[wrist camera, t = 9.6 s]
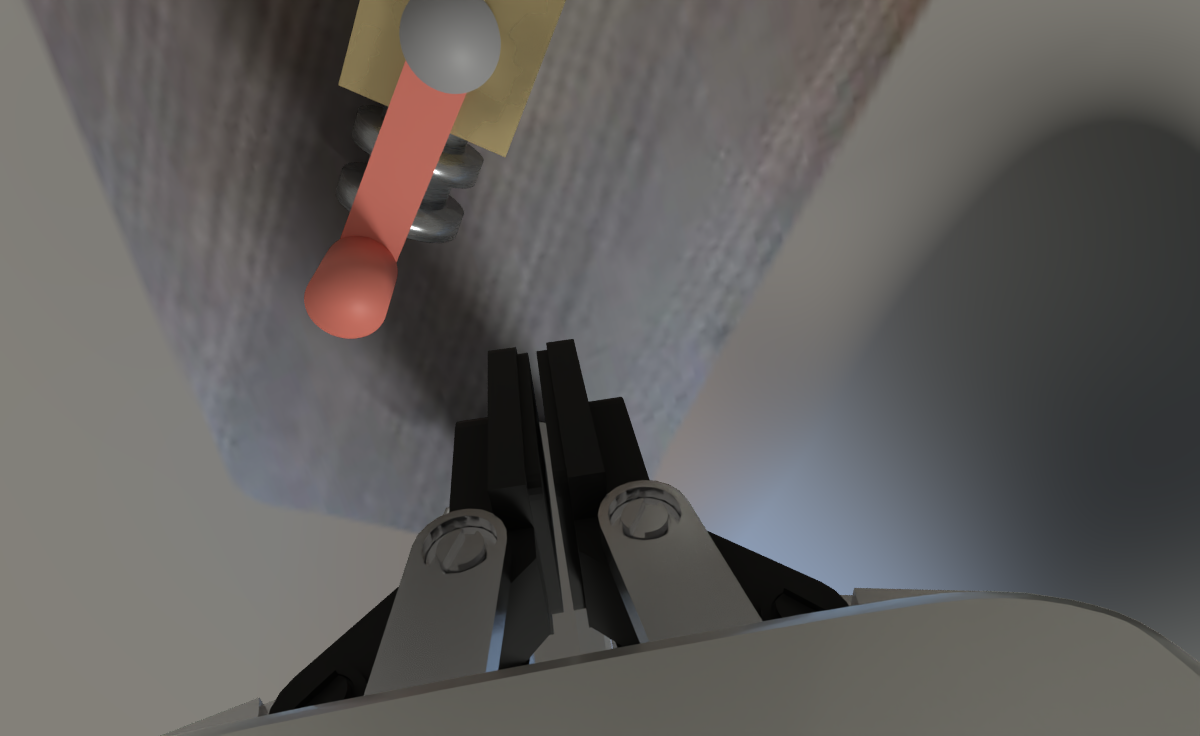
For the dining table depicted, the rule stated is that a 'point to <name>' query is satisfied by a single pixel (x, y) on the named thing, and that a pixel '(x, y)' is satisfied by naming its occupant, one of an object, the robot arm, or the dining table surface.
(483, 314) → the dining table surface
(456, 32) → the lever
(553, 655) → the water bottle
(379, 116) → the valve
